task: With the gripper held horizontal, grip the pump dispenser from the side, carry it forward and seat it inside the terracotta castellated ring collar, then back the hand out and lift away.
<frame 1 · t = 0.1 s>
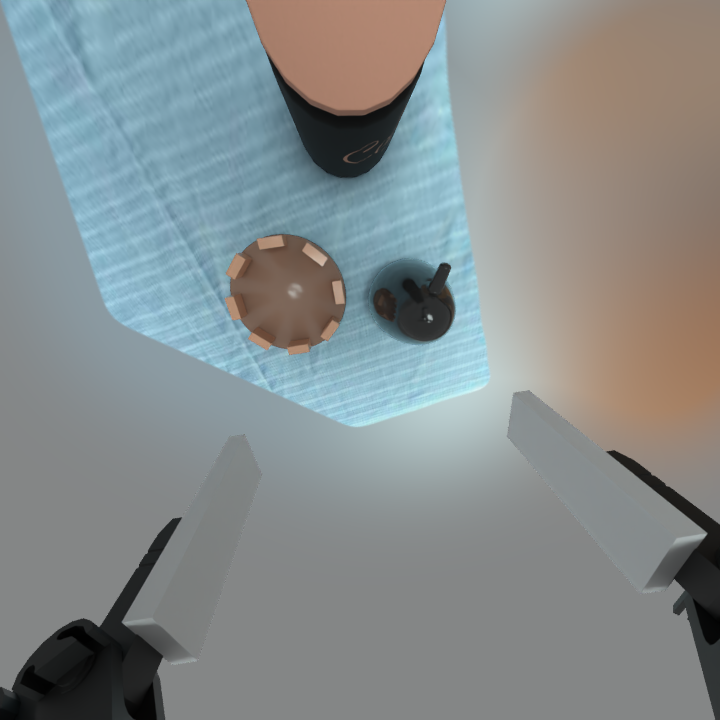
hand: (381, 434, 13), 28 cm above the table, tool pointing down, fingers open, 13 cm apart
castellated collar: (290, 296, 37), on the table
pump dispenser: (400, 293, 38), on the table
coffee jar: (345, 125, 29), on the table
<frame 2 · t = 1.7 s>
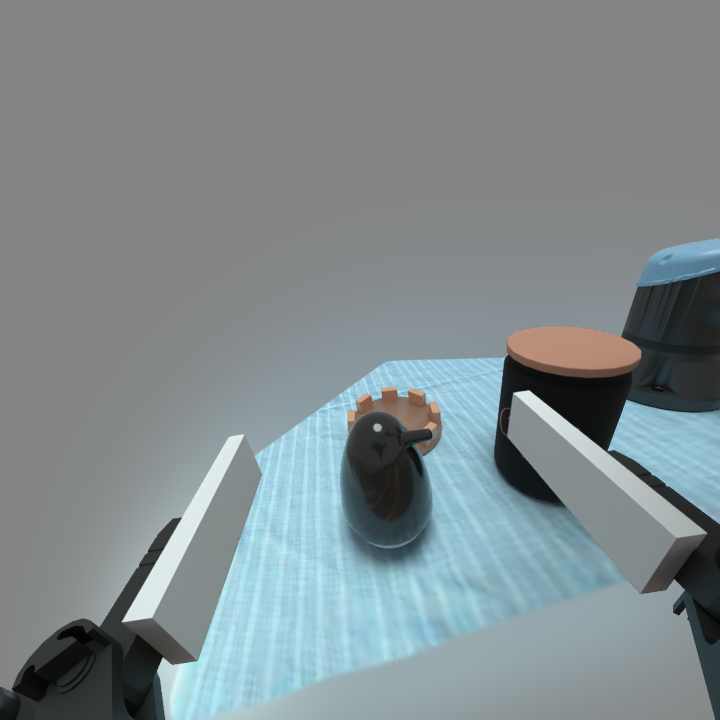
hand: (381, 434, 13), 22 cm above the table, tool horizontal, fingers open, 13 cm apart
castellated collar: (393, 426, 45), on the table
pump dispenser: (390, 518, 31), on the table
coffee jar: (538, 470, 34), on the table
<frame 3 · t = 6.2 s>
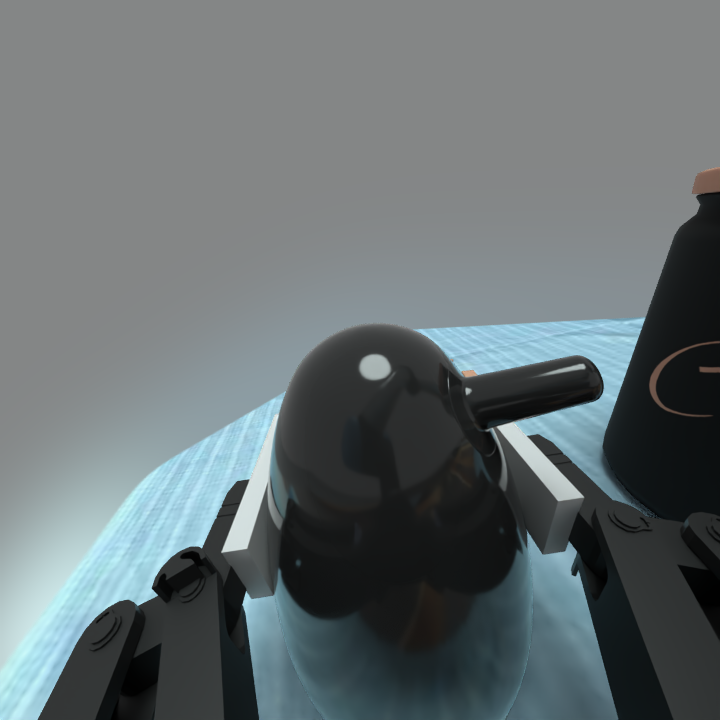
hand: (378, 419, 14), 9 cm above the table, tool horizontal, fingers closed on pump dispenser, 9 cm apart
pump dispenser: (405, 604, 13), on the table, touching gripper
coffee jar: (709, 491, 16), on the table
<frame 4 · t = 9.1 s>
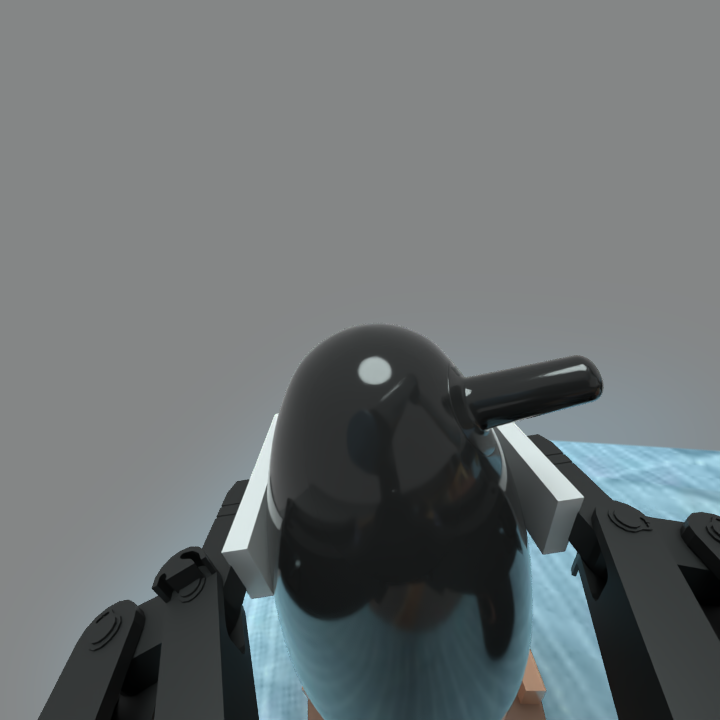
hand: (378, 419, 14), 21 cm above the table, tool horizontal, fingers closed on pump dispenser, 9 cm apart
castellated collar: (417, 673, 19), on the table
pump dispenser: (405, 604, 13), point 12 cm above the table, touching gripper
when the fingers open (11 cm above the table, at t = 12.0 s): pump dispenser drops 2 cm, resting on castellated collar.
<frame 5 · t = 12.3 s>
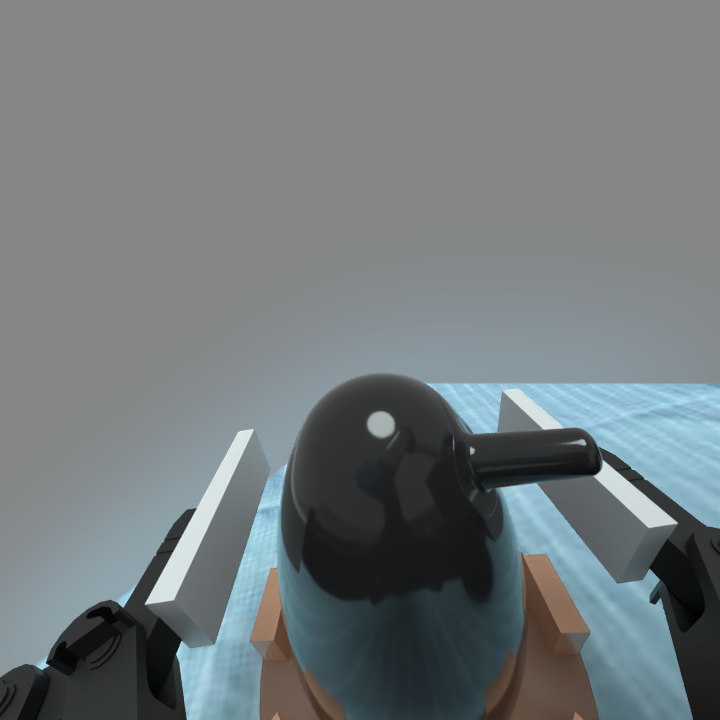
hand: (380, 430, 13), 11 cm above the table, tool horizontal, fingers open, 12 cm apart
castellated collar: (409, 624, 14), on the table
pump dispenser: (405, 617, 14), point 1 cm above the table, touching castellated collar
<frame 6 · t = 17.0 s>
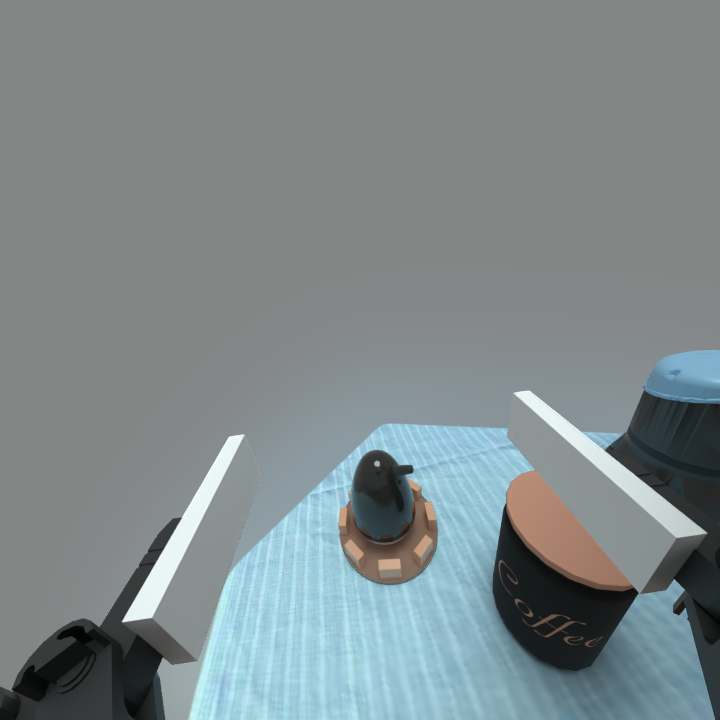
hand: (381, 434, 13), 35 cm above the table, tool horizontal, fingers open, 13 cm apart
castellated collar: (387, 526, 43), on the table
pump dispenser: (386, 523, 43), point 1 cm above the table, touching castellated collar
coffee jar: (539, 609, 32), on the table
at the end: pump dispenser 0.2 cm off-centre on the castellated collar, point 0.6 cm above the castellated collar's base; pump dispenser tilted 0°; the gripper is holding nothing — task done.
